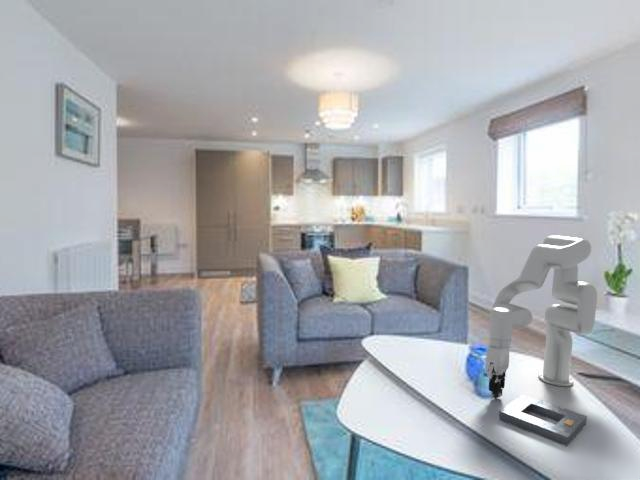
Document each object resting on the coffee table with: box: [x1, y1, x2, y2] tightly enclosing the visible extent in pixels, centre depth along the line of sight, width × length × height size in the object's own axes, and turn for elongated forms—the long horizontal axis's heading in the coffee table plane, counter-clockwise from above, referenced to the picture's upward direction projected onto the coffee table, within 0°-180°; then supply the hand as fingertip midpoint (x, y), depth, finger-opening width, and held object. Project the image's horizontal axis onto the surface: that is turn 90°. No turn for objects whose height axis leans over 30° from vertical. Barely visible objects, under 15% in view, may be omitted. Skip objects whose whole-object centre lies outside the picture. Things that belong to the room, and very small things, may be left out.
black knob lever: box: [490, 371, 507, 399], centre depth 161 cm, size 7×5×10 cm
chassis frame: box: [498, 393, 588, 447], centre depth 146 cm, size 19×21×3 cm
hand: (496, 388), depth 162 cm, fingers closed on black knob lever, 4 cm apart
